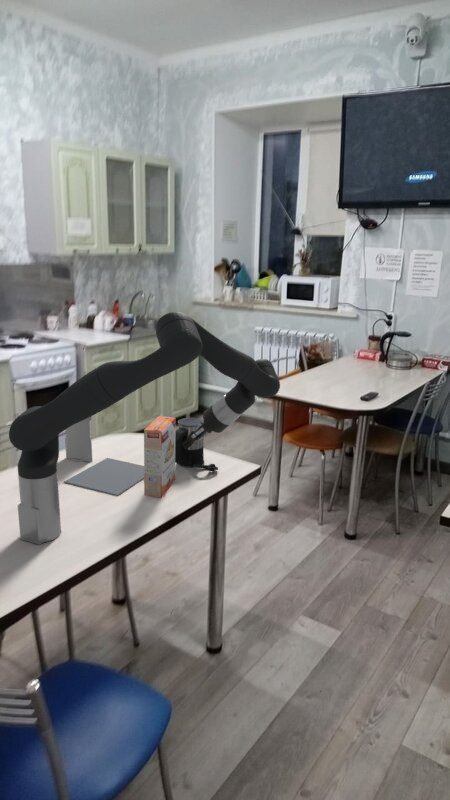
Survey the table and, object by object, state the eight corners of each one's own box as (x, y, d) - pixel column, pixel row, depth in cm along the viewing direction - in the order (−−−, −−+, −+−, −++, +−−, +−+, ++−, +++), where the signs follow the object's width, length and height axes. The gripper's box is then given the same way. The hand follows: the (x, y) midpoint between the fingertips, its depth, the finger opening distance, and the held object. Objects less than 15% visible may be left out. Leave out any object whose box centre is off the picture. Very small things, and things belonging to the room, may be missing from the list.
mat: (117, 496, 167) (117, 494, 167) (64, 482, 175) (64, 481, 175) (157, 470, 186) (157, 468, 186) (107, 458, 194) (107, 457, 194)
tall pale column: (62, 459, 192) (58, 397, 186) (68, 455, 196) (64, 394, 190) (90, 463, 190) (87, 400, 184) (96, 459, 194) (93, 397, 188)
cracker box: (163, 498, 166) (162, 431, 160) (143, 496, 167) (142, 429, 161) (176, 479, 179) (176, 416, 174) (158, 477, 181) (157, 415, 175)
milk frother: (183, 456, 199) (183, 415, 194) (226, 461, 194) (227, 420, 190) (167, 471, 185) (167, 428, 181) (214, 478, 181) (214, 434, 177)
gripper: (221, 430, 152) (181, 463, 161) (241, 417, 164) (202, 449, 172) (203, 408, 153) (164, 443, 161) (225, 396, 165) (187, 429, 173)
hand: (184, 446), depth 167 cm, fingers closed
